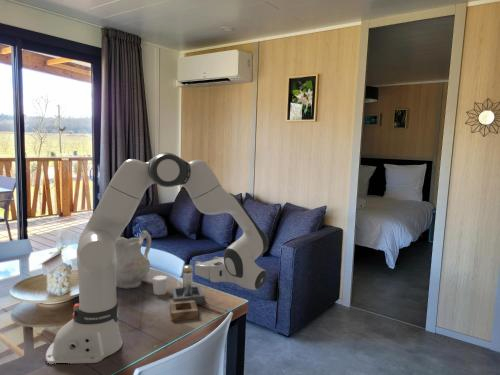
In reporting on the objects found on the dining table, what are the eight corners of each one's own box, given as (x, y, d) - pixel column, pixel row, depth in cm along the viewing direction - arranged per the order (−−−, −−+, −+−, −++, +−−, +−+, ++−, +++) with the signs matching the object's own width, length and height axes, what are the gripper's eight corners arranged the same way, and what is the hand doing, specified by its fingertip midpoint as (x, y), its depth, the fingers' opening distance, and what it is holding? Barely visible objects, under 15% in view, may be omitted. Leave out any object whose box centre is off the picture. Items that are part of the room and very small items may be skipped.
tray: (174, 307, 152) (174, 298, 152) (172, 295, 164) (172, 287, 163) (203, 304, 156) (203, 296, 155) (199, 293, 167) (199, 285, 167)
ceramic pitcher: (134, 275, 191) (130, 227, 189) (163, 279, 182) (159, 229, 180) (99, 289, 172) (94, 236, 170) (129, 295, 163) (125, 239, 161)
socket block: (171, 320, 140) (171, 313, 140) (169, 309, 150) (169, 302, 150) (197, 317, 143) (198, 310, 143) (194, 307, 153) (194, 300, 152)
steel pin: (183, 300, 157) (183, 268, 156) (182, 296, 161) (182, 265, 159) (193, 299, 158) (193, 267, 157) (191, 295, 162) (192, 264, 161)
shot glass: (163, 296, 163) (163, 280, 162) (149, 294, 165) (149, 279, 164) (170, 290, 170) (170, 275, 169) (156, 288, 171) (156, 274, 170)
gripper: (248, 256, 148) (224, 248, 157) (210, 266, 132) (185, 257, 142) (248, 271, 148) (223, 263, 157) (209, 283, 133) (185, 273, 142)
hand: (205, 260), depth 149 cm, fingers open, 8 cm apart
